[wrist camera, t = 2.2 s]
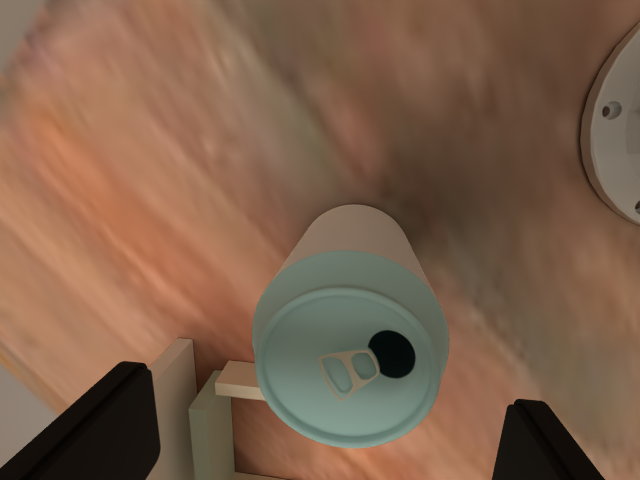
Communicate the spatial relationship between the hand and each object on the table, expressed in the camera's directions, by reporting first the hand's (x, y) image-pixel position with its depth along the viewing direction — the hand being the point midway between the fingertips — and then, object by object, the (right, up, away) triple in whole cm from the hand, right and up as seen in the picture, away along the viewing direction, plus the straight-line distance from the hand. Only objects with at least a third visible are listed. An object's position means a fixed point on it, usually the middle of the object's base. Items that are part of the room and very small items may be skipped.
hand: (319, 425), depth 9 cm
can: (+2, +4, +13) cm, 14 cm away
